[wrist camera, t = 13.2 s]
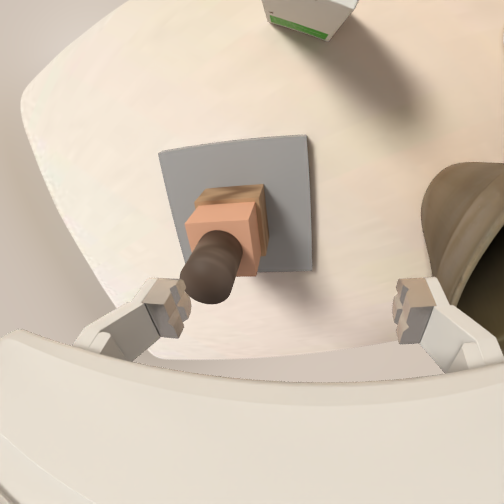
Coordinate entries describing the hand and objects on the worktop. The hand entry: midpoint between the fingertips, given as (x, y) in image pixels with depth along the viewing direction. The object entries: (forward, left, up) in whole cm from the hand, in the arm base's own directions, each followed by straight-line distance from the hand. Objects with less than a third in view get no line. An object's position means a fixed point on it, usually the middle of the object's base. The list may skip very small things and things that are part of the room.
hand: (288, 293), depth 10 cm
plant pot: (-25, +9, -30) cm, 40 cm away
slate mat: (+9, +9, -29) cm, 32 cm away
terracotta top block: (+9, +9, -23) cm, 26 cm away
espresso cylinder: (+9, +9, -18) cm, 22 cm away
